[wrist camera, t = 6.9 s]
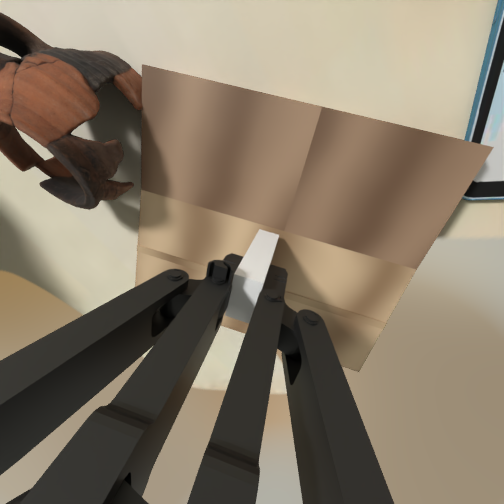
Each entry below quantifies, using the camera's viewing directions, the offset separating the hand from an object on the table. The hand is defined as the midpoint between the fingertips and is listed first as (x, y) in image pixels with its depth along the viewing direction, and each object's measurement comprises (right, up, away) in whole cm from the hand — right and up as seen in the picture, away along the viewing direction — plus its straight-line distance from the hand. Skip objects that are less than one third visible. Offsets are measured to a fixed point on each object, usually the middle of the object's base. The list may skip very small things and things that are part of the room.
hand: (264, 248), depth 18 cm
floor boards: (+2, +6, -1) cm, 6 cm away
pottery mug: (-13, +10, +1) cm, 16 cm away
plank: (0, -2, +3) cm, 4 cm away
